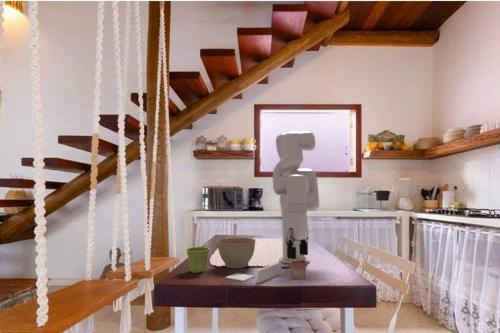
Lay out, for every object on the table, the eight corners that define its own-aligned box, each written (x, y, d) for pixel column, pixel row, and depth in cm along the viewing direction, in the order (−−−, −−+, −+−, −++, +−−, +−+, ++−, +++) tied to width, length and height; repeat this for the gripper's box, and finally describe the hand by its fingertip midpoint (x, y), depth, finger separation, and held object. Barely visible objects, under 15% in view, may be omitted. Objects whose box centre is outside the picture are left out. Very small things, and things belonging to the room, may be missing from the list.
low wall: (279, 272, 127) (279, 262, 127) (281, 272, 126) (281, 262, 126) (256, 282, 113) (256, 270, 114) (259, 282, 113) (258, 271, 113)
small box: (292, 279, 116) (291, 257, 117) (290, 276, 121) (289, 254, 121) (306, 279, 117) (305, 256, 117) (303, 276, 121) (303, 254, 122)
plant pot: (205, 274, 125) (205, 251, 125) (181, 273, 127) (182, 250, 127) (212, 268, 134) (212, 247, 134) (191, 267, 136) (191, 246, 136)
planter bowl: (258, 262, 144) (258, 237, 145) (251, 271, 129) (251, 243, 129) (223, 261, 148) (223, 236, 148) (212, 270, 132) (212, 242, 133)
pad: (237, 274, 125) (237, 273, 125) (254, 277, 120) (254, 275, 120) (225, 278, 119) (225, 277, 119) (243, 281, 115) (243, 280, 115)
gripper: (298, 208, 129) (299, 252, 128) (276, 209, 115) (277, 259, 113) (315, 208, 125) (317, 254, 123) (295, 209, 111) (296, 261, 109)
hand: (297, 256), depth 118 cm, fingers open, 9 cm apart
